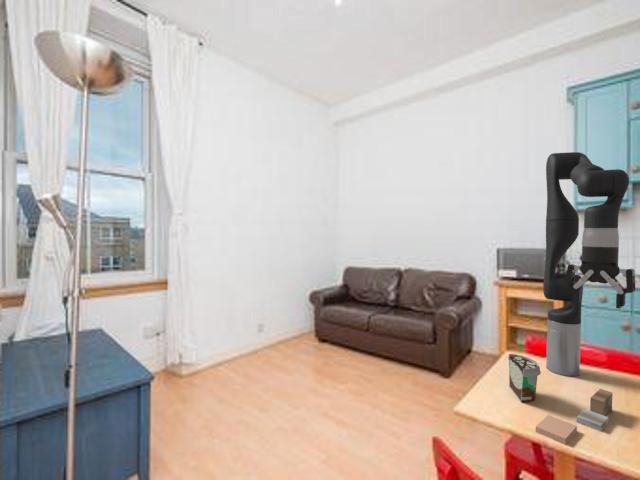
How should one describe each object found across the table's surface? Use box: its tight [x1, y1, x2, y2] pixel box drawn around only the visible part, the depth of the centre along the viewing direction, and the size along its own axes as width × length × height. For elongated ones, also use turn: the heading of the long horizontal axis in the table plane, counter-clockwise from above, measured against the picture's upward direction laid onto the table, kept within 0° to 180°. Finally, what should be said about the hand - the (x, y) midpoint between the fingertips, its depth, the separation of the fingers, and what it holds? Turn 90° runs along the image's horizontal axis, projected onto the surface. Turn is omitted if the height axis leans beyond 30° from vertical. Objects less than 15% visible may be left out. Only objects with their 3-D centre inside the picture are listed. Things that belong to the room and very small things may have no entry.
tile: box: [535, 414, 578, 446], centre depth 80 cm, size 2×6×8 cm
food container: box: [507, 353, 542, 404], centre depth 98 cm, size 12×6×10 cm, turn 168°
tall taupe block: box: [576, 388, 613, 433], centre depth 86 cm, size 14×5×5 cm, turn 126°
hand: (598, 304), depth 91 cm, fingers open, 8 cm apart
